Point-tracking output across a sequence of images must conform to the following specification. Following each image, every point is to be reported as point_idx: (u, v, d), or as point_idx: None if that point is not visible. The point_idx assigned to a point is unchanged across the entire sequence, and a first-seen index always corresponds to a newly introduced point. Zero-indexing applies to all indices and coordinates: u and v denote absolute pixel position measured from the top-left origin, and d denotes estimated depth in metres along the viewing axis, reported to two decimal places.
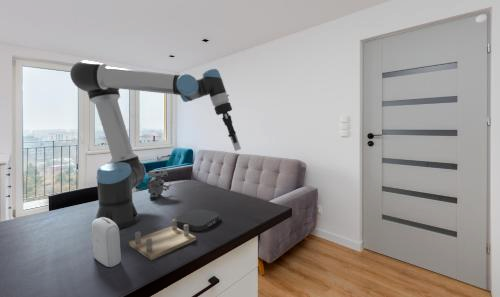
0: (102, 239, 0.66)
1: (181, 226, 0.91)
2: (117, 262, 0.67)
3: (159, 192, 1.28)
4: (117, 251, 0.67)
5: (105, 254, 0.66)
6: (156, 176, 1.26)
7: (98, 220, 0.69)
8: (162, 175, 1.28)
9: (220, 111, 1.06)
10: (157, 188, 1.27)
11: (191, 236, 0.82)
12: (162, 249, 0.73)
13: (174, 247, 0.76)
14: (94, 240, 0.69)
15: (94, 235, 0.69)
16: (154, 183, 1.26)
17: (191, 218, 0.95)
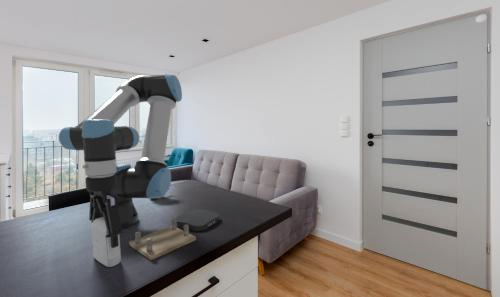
0: (102, 239, 0.66)
1: (181, 226, 0.91)
2: (117, 262, 0.67)
3: None
4: None
5: (105, 254, 0.66)
6: None
7: (98, 220, 0.69)
8: None
9: None
10: None
11: (191, 236, 0.82)
12: (162, 249, 0.73)
13: (174, 247, 0.76)
14: (94, 240, 0.69)
15: (94, 234, 0.69)
16: None
17: (191, 218, 0.95)
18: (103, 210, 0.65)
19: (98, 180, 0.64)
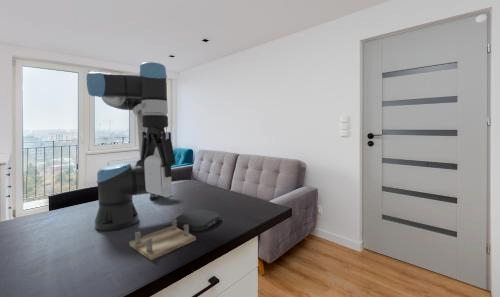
0: (156, 171, 0.74)
1: (181, 226, 0.92)
2: (169, 193, 0.75)
3: None
4: None
5: (159, 184, 0.74)
6: None
7: (151, 156, 0.77)
8: None
9: None
10: None
11: (191, 236, 0.82)
12: (162, 249, 0.73)
13: (174, 247, 0.76)
14: (147, 174, 0.77)
15: (147, 169, 0.77)
16: None
17: (191, 218, 0.95)
18: (158, 144, 0.73)
19: (154, 116, 0.72)
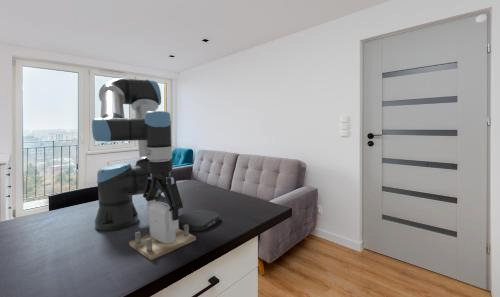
0: (161, 219, 0.76)
1: (181, 226, 0.92)
2: (173, 240, 0.78)
3: (159, 192, 1.28)
4: (173, 230, 0.78)
5: (164, 233, 0.76)
6: None
7: (156, 203, 0.79)
8: None
9: None
10: None
11: (191, 236, 0.82)
12: (162, 249, 0.73)
13: (174, 247, 0.76)
14: (152, 221, 0.79)
15: (152, 216, 0.79)
16: None
17: (191, 218, 0.95)
18: (164, 189, 0.75)
19: (159, 163, 0.74)
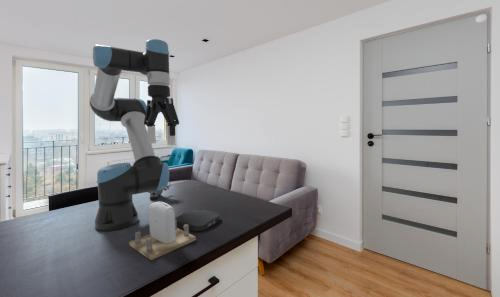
0: (161, 219, 0.76)
1: (181, 226, 0.92)
2: (173, 240, 0.78)
3: (159, 192, 1.28)
4: (173, 230, 0.78)
5: (164, 233, 0.76)
6: None
7: (156, 203, 0.79)
8: None
9: None
10: None
11: (191, 236, 0.82)
12: (162, 249, 0.73)
13: (174, 247, 0.76)
14: (152, 221, 0.79)
15: (152, 216, 0.79)
16: None
17: (191, 218, 0.95)
18: (162, 109, 0.85)
19: (158, 85, 0.84)
